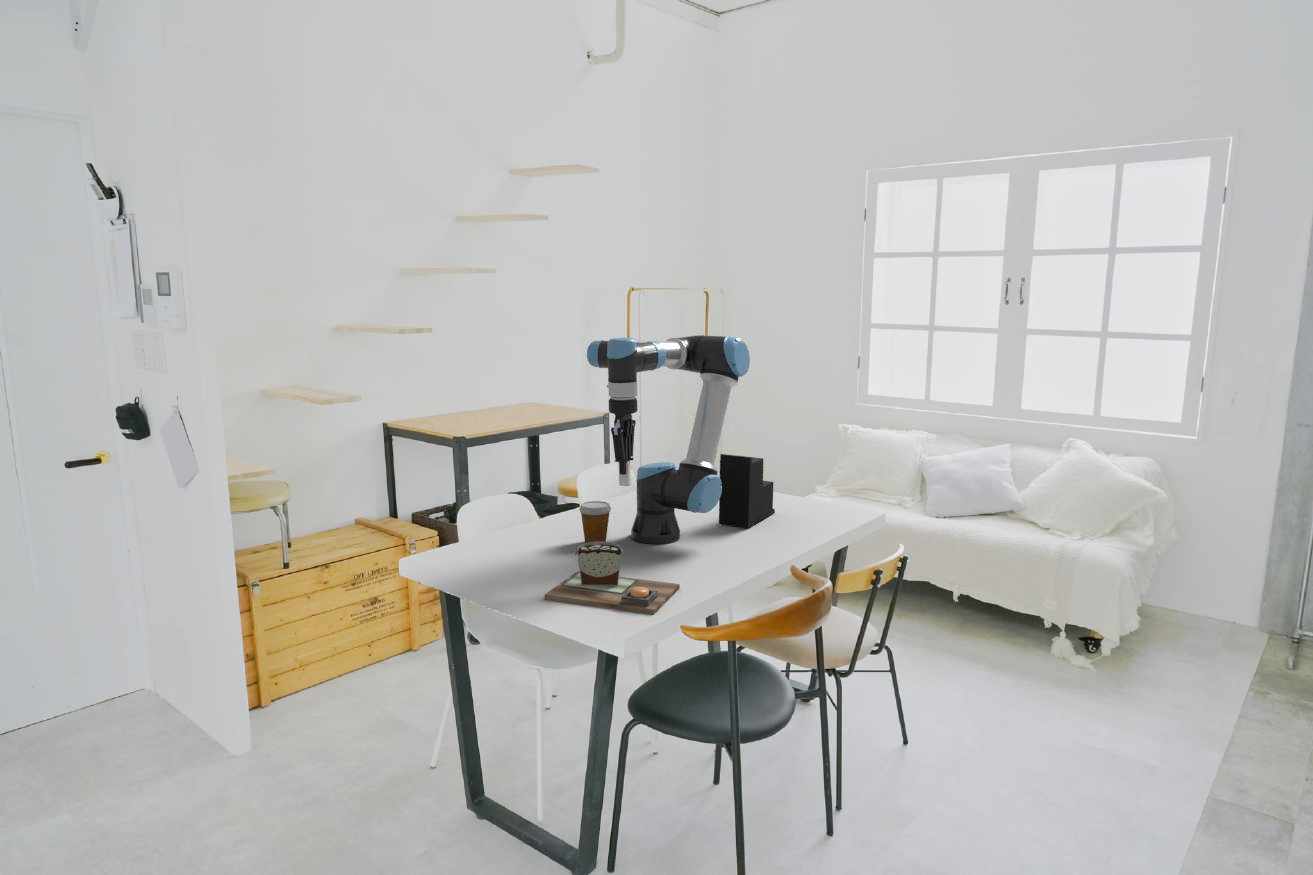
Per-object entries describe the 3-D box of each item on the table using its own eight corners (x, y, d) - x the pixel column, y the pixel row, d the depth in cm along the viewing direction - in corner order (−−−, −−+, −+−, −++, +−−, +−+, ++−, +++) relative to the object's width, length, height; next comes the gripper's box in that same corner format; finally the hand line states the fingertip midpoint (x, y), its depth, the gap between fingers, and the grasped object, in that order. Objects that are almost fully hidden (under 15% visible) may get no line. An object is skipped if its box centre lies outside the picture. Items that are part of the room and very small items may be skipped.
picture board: (576, 575, 235) (576, 565, 234) (679, 588, 225) (679, 578, 225) (544, 599, 217) (544, 588, 217) (654, 614, 207) (654, 602, 207)
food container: (625, 577, 229) (624, 541, 227) (623, 585, 223) (623, 548, 221) (577, 577, 229) (577, 540, 227) (575, 585, 223) (575, 547, 221)
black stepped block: (746, 509, 305) (747, 443, 301) (775, 513, 300) (777, 446, 296) (717, 525, 285) (719, 454, 281) (748, 529, 280) (750, 457, 276)
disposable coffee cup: (579, 538, 269) (579, 500, 267) (610, 538, 270) (610, 500, 267) (579, 547, 259) (578, 508, 257) (611, 547, 260) (611, 508, 258)
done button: (634, 593, 216) (634, 585, 215) (651, 595, 214) (651, 587, 214) (627, 599, 212) (627, 591, 211) (644, 601, 210) (644, 593, 210)
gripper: (617, 393, 236) (620, 478, 240) (600, 400, 224) (602, 490, 228) (644, 394, 233) (645, 480, 238) (628, 401, 221) (630, 492, 226)
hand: (624, 485), depth 233 cm, fingers closed
